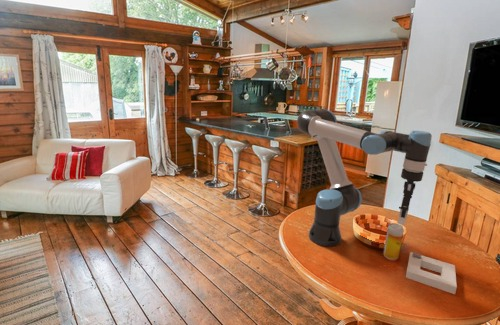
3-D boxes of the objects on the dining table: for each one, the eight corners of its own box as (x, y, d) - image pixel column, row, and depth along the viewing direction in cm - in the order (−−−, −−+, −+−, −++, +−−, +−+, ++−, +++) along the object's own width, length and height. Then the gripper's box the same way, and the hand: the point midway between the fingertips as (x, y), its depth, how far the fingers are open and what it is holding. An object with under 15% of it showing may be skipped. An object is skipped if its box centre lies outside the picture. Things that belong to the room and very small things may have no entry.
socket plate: (405, 277, 112) (407, 269, 111) (409, 258, 125) (410, 250, 124) (454, 294, 104) (457, 285, 103) (453, 271, 117) (455, 263, 116)
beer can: (399, 262, 122) (406, 230, 118) (384, 259, 123) (390, 228, 119) (395, 254, 128) (401, 223, 124) (381, 252, 129) (386, 221, 125)
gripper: (423, 180, 103) (410, 232, 109) (424, 164, 123) (413, 209, 129) (400, 175, 106) (389, 226, 112) (404, 161, 127) (395, 205, 133)
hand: (402, 217), depth 121 cm, fingers open, 13 cm apart
